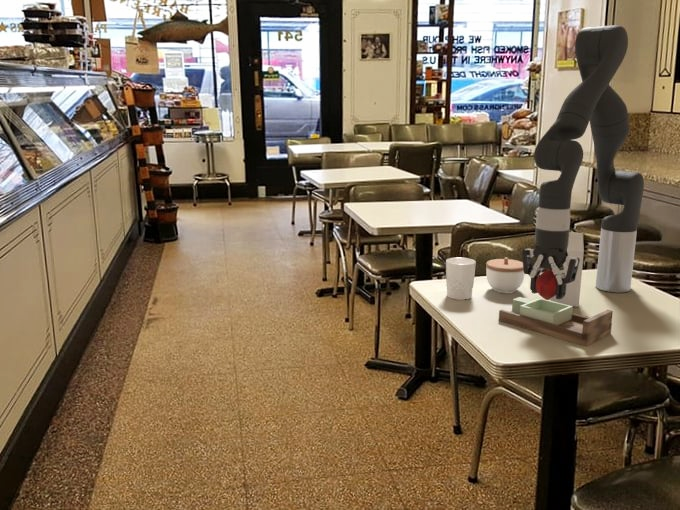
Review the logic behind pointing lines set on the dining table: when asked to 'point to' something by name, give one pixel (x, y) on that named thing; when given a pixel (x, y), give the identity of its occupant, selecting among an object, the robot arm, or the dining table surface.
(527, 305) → the sled
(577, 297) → the milk carton
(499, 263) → the lidded jar
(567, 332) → the rail
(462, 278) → the white cup
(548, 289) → the onion
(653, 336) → the dining table surface
